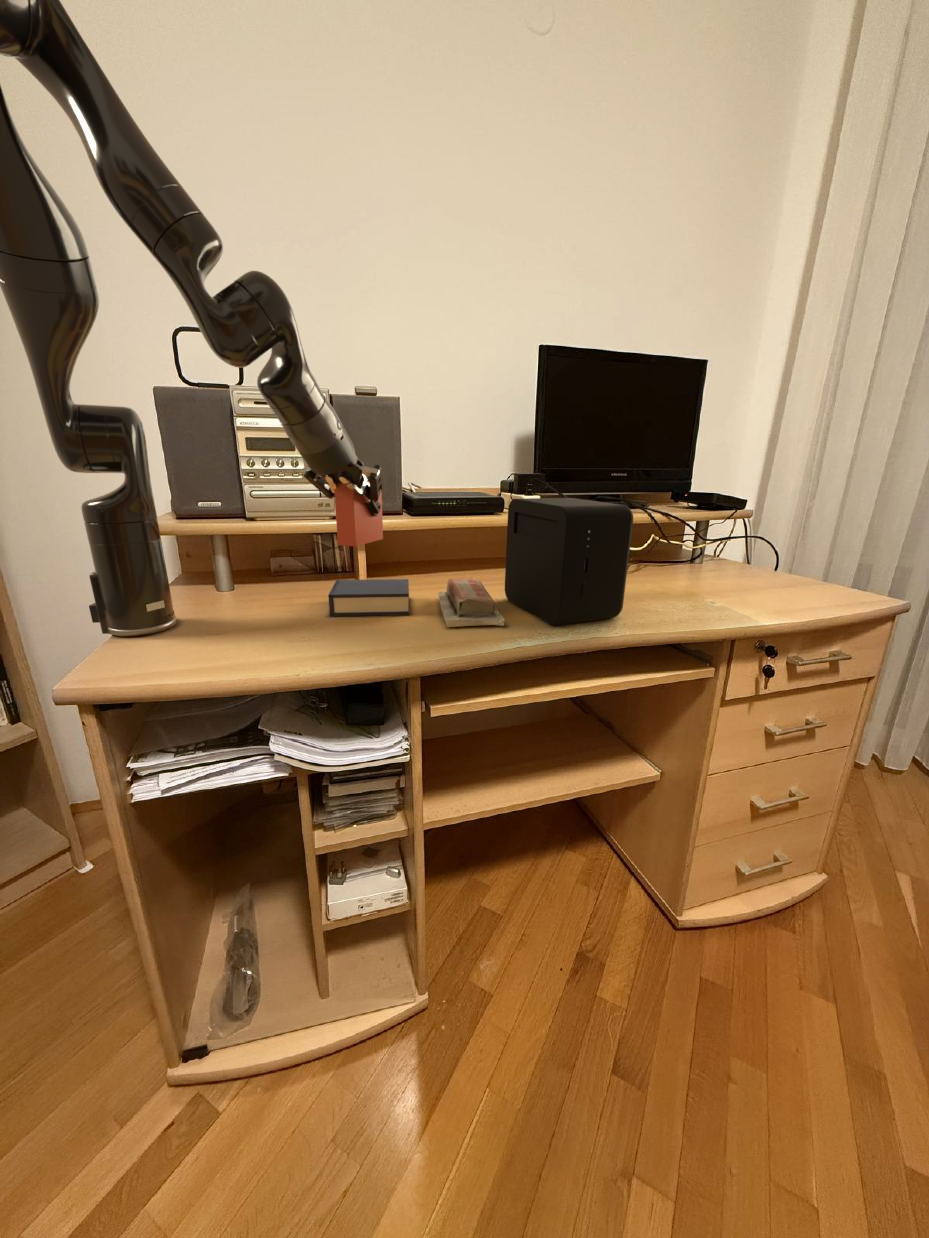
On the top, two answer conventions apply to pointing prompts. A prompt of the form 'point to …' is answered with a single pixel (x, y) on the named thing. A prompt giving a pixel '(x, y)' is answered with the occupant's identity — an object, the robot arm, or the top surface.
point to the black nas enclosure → (567, 558)
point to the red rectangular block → (355, 518)
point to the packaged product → (468, 604)
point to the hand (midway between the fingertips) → (366, 511)
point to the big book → (369, 597)
